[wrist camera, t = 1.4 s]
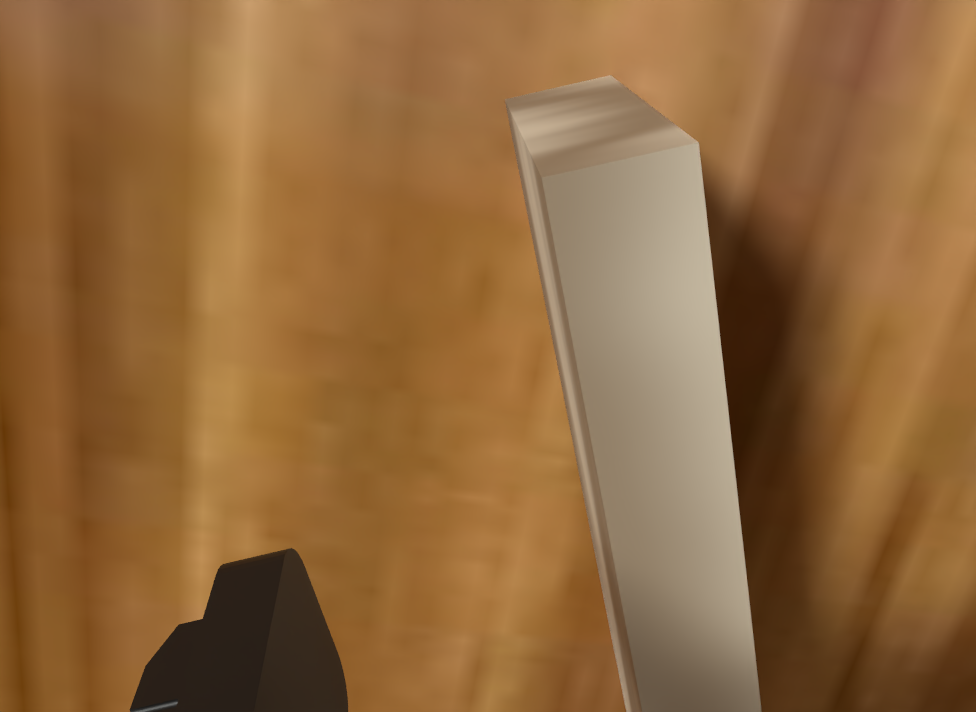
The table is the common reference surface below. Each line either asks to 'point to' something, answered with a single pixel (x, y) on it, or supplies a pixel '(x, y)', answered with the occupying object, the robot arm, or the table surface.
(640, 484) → the pale wooden bar
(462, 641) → the table surface
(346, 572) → the table surface
